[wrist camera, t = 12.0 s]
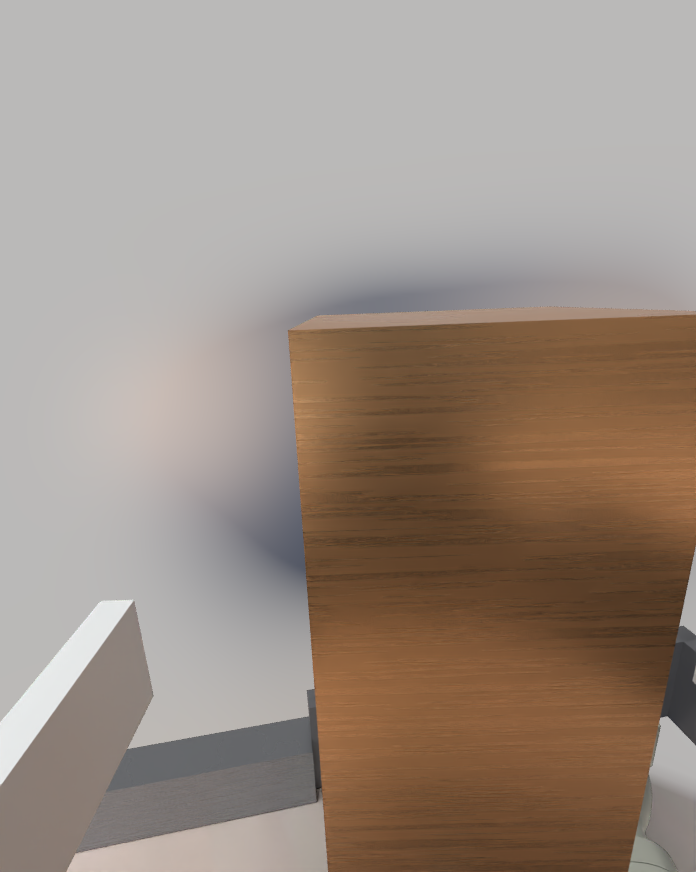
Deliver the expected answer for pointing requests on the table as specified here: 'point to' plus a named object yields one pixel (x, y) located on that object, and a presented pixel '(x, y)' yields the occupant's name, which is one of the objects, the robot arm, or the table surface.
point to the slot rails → (205, 782)
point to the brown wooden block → (492, 577)
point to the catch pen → (682, 704)
